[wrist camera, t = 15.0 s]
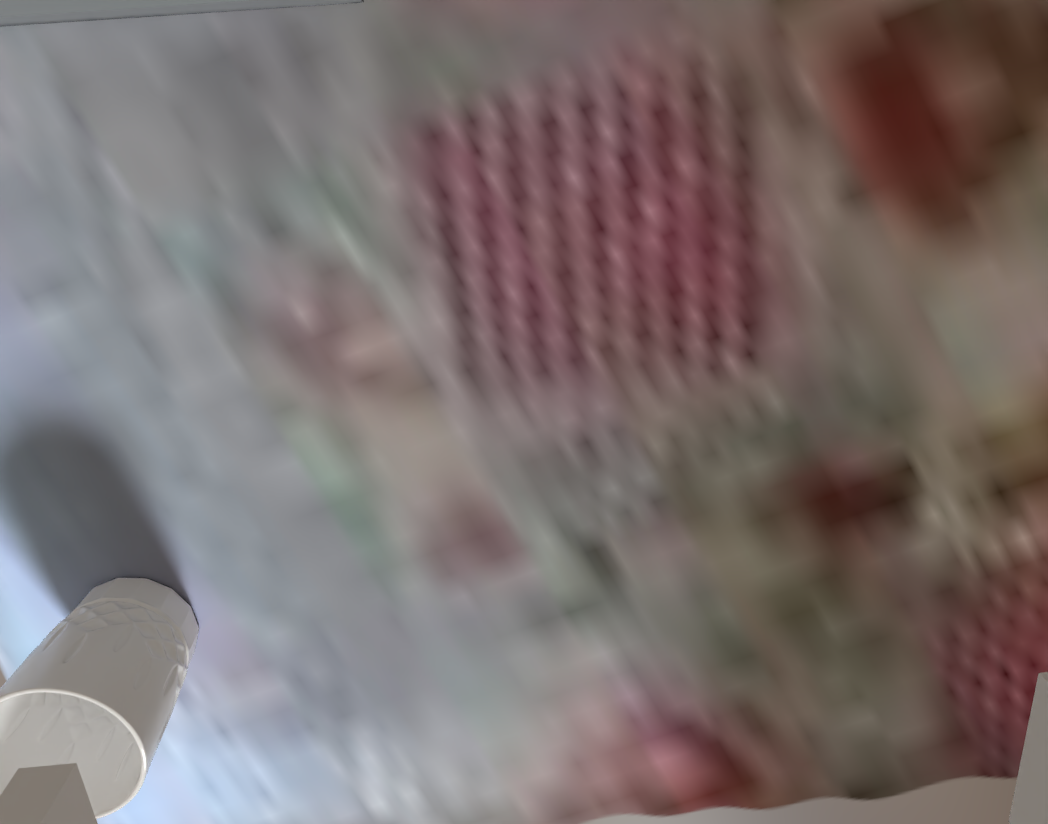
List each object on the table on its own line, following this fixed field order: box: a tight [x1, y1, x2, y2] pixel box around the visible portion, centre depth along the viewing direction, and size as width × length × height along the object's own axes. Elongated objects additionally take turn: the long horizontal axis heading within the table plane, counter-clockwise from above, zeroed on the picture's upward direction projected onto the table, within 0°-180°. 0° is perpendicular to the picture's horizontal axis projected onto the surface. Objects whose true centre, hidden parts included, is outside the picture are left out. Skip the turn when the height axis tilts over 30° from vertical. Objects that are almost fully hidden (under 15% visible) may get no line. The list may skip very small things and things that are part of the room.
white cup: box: [0, 578, 199, 819], centre depth 42 cm, size 8×8×10 cm
